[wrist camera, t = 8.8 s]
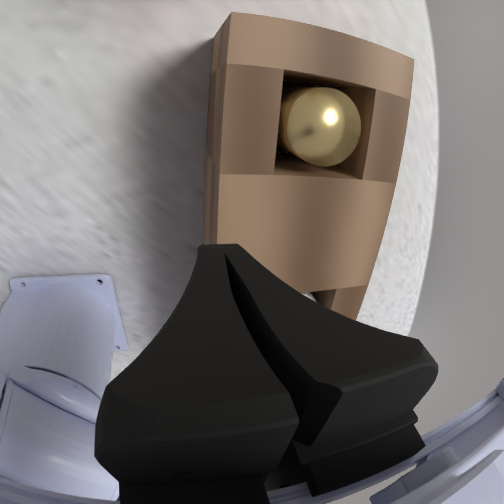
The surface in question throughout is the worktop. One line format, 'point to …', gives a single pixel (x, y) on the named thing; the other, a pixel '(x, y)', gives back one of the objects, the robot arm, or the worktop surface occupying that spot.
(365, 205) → the walnut peg board
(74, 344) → the robot arm
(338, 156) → the brass peg
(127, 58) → the worktop surface
